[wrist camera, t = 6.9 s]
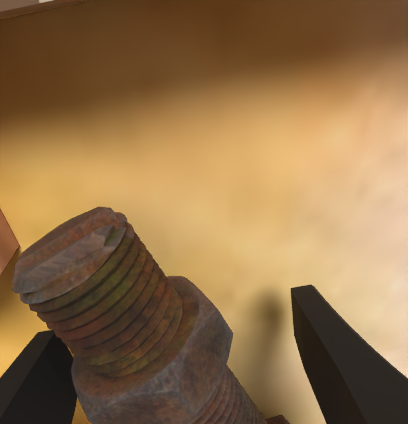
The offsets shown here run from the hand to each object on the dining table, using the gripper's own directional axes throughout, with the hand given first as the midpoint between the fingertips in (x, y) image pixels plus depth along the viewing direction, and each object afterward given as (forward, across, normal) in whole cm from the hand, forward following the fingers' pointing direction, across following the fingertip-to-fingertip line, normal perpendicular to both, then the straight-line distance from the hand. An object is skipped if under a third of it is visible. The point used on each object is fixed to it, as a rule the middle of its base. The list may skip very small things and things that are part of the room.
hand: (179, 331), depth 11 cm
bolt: (+2, 0, +3) cm, 4 cm away
